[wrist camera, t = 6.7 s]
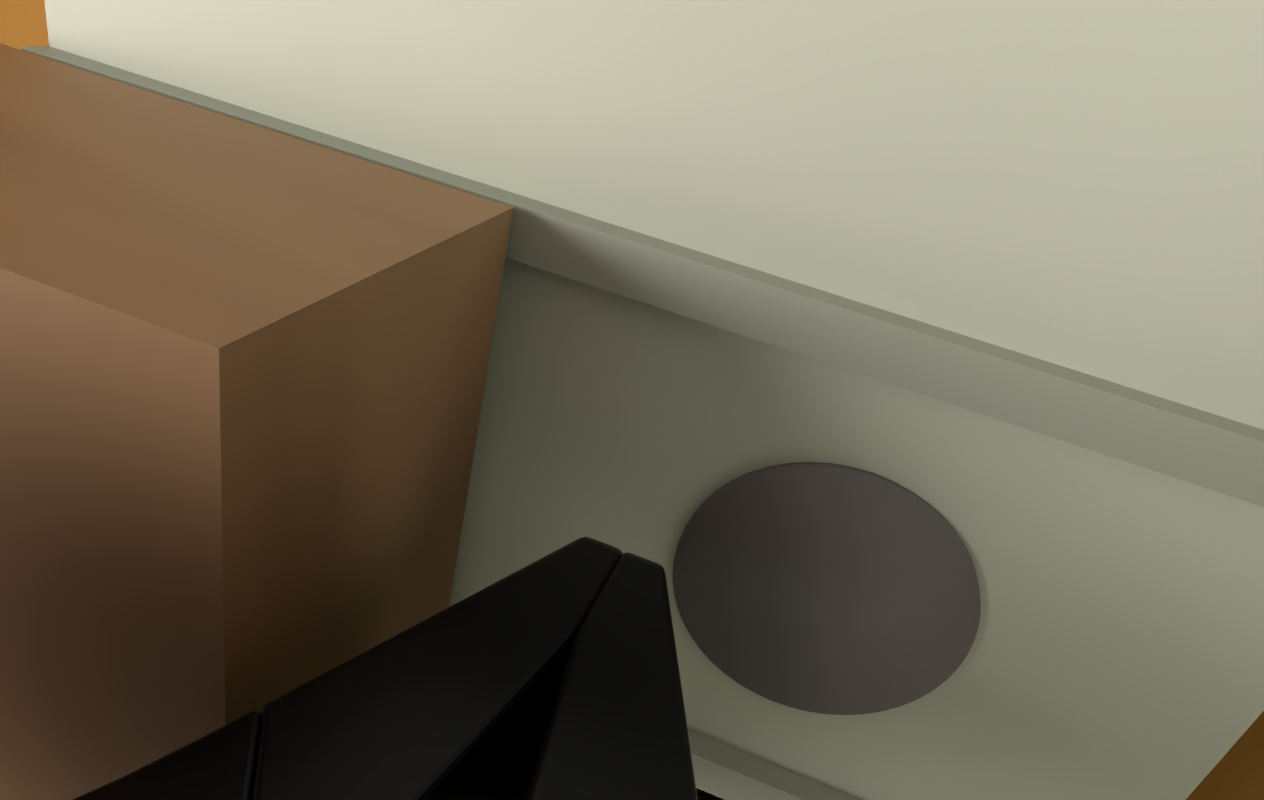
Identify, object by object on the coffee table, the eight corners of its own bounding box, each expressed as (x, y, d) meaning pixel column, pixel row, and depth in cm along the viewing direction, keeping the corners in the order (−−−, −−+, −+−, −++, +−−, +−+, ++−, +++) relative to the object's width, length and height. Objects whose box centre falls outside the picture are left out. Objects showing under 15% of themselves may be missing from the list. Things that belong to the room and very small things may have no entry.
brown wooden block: (436, 686, 10) (229, 986, 7) (28, 514, 11) (-317, 709, 8) (513, 207, 7) (220, 348, 4) (-49, 29, 8) (-648, 28, 5)
